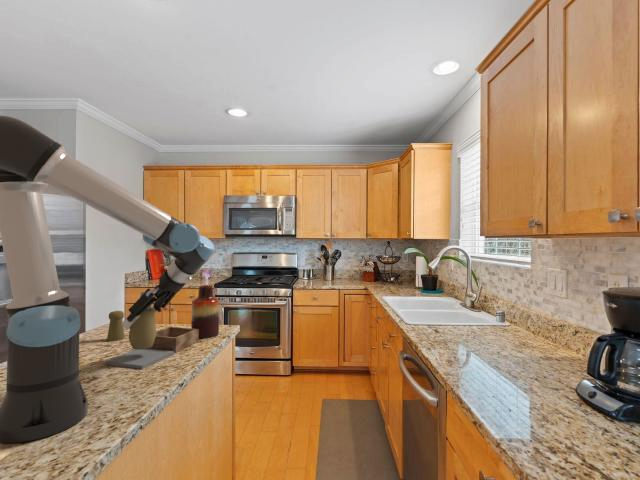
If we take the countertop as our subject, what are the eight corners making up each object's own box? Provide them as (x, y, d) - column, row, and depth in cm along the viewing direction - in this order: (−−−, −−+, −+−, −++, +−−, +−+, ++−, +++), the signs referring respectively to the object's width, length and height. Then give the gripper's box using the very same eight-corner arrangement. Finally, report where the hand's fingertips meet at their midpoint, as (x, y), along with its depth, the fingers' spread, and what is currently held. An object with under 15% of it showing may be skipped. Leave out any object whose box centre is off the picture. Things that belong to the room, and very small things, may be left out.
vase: (186, 338, 131) (187, 287, 132) (197, 331, 142) (198, 284, 142) (213, 339, 131) (213, 287, 131) (222, 331, 142) (222, 284, 142)
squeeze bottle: (144, 352, 103) (145, 294, 103) (122, 350, 104) (123, 293, 105) (161, 344, 111) (162, 291, 111) (140, 342, 112) (141, 290, 113)
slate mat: (142, 369, 99) (142, 365, 99) (105, 364, 102) (105, 361, 102) (174, 354, 112) (174, 351, 112) (140, 350, 116) (140, 347, 116)
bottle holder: (175, 352, 114) (176, 338, 114) (144, 349, 117) (144, 335, 117) (198, 342, 126) (198, 329, 126) (169, 339, 130) (170, 326, 130)
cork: (110, 337, 132) (111, 309, 132) (127, 336, 133) (127, 309, 133) (103, 341, 126) (104, 312, 126) (121, 341, 127) (121, 312, 127)
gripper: (161, 288, 95) (115, 340, 98) (202, 281, 113) (161, 325, 117) (146, 269, 96) (101, 321, 100) (189, 265, 115) (149, 309, 119)
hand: (133, 323), depth 108 cm, fingers closed on squeeze bottle, 6 cm apart
